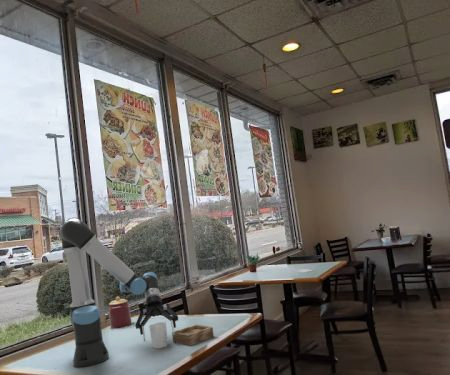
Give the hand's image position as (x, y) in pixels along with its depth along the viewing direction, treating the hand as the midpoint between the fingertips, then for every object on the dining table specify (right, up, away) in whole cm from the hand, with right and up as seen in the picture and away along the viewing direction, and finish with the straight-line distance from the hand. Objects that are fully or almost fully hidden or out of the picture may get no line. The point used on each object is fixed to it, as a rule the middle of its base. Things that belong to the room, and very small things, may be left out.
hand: (159, 336), depth 187 cm
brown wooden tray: (+15, -3, +5) cm, 16 cm away
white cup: (0, -5, +2) cm, 6 cm away
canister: (-34, -16, +63) cm, 73 cm away
